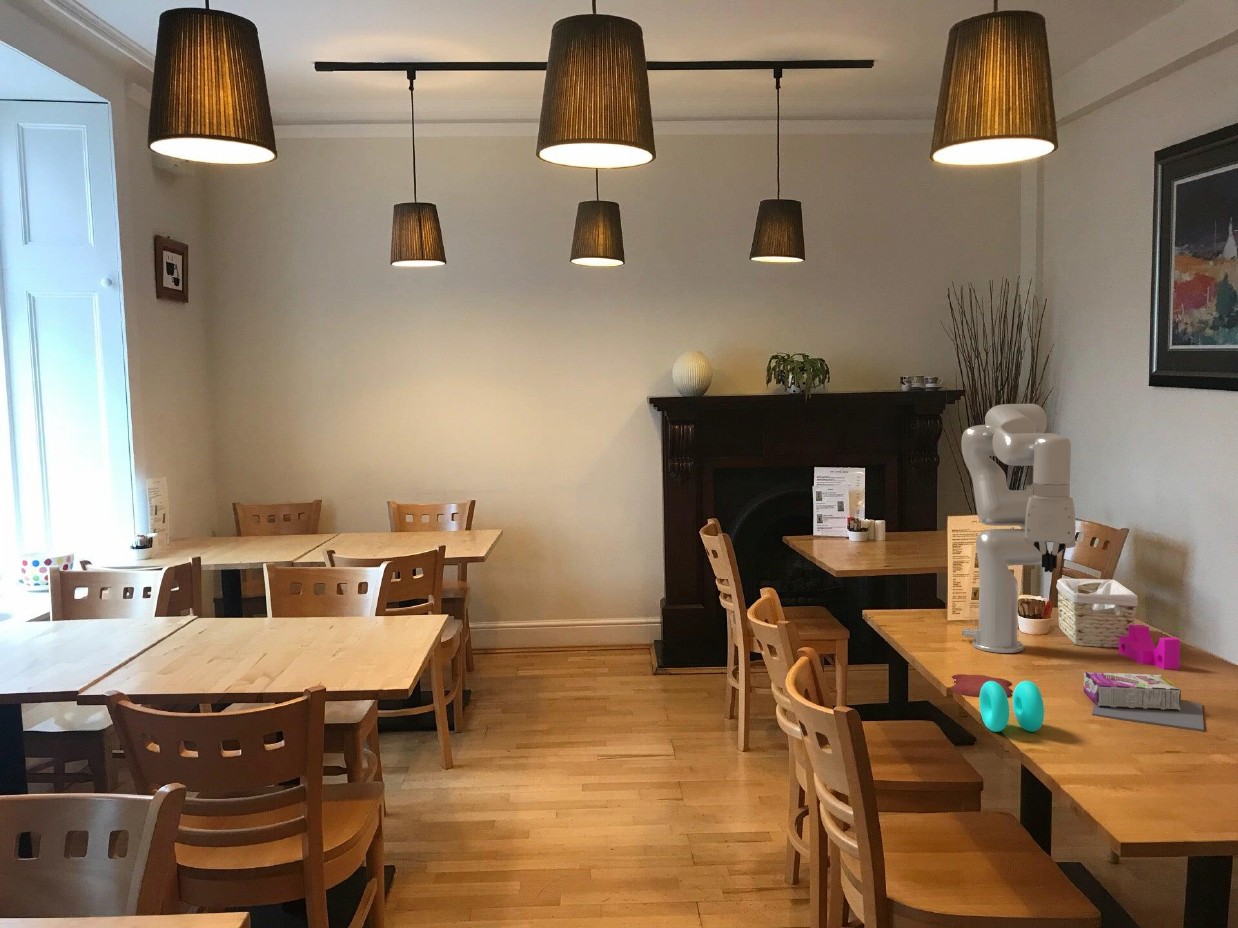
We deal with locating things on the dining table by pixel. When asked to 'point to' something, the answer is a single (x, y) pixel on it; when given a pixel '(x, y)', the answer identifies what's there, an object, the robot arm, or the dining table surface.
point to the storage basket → (1095, 611)
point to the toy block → (1150, 648)
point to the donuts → (1024, 706)
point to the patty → (977, 684)
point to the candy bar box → (1132, 691)
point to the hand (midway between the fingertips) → (1049, 570)
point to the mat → (1158, 715)
